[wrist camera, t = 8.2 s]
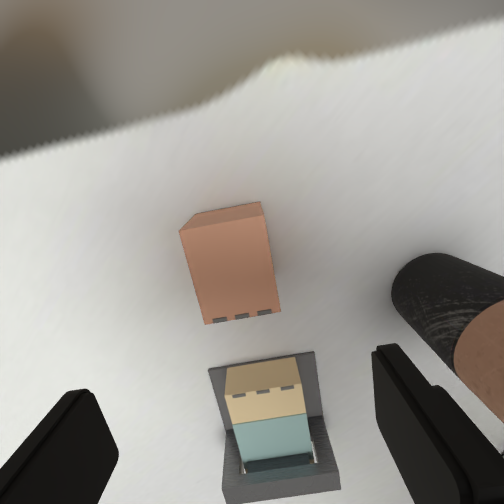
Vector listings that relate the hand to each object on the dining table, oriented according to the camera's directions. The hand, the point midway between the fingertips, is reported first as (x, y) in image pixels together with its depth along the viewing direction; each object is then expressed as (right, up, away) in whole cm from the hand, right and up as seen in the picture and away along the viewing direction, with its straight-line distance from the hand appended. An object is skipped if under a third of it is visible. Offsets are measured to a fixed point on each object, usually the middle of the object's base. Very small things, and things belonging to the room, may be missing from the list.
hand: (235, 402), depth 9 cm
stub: (-1, +6, +15) cm, 16 cm away
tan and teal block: (+2, -11, +20) cm, 23 cm away
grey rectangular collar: (+3, -15, +22) cm, 27 cm away
